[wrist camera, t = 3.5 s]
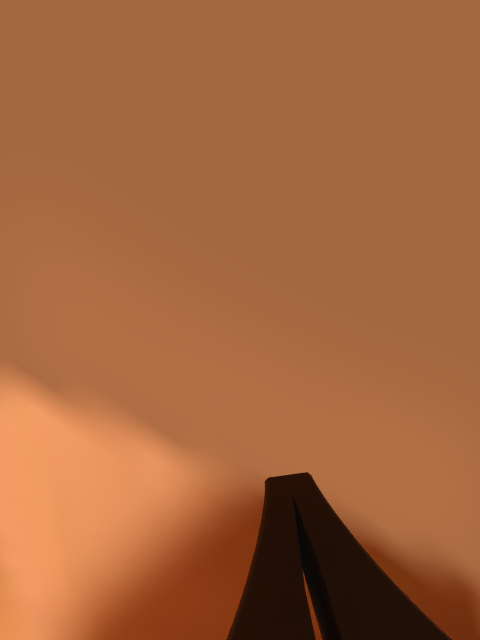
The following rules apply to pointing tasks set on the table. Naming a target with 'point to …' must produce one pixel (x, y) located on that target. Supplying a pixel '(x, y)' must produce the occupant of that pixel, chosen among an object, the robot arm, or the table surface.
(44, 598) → the table surface
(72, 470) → the table surface
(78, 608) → the table surface
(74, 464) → the table surface
